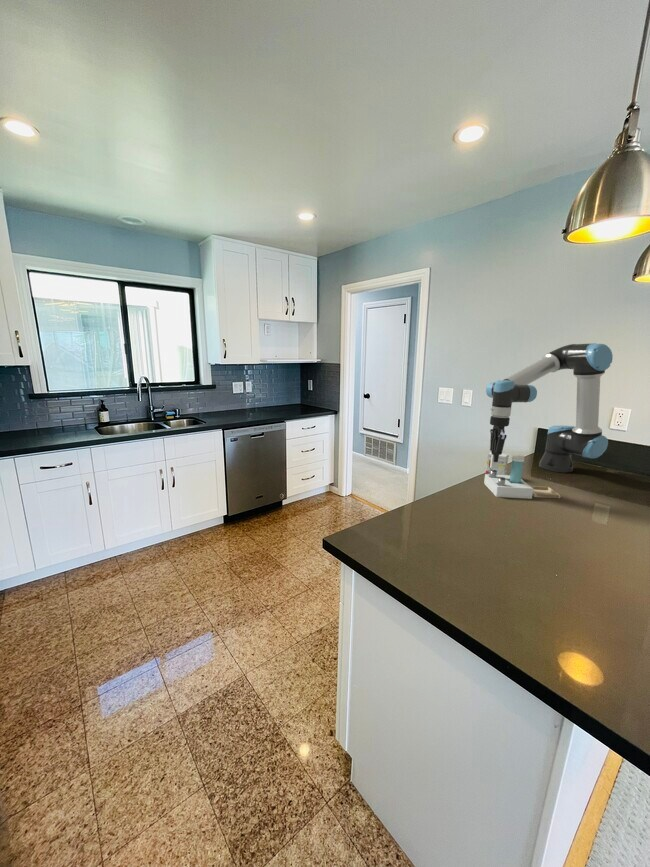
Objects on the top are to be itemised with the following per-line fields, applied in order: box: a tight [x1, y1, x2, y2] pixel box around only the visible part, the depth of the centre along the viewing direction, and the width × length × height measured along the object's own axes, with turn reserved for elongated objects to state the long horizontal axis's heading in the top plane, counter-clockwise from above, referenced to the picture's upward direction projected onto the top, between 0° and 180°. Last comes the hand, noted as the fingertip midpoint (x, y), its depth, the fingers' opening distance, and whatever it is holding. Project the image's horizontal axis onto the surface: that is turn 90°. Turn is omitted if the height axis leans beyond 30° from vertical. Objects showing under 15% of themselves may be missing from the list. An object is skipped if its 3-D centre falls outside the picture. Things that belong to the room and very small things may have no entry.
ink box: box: [485, 451, 509, 475], centre depth 171 cm, size 9×5×12 cm, turn 50°
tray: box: [530, 485, 561, 499], centre depth 151 cm, size 10×10×2 cm
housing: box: [483, 473, 533, 500], centre depth 153 cm, size 16×14×5 cm
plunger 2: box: [498, 477, 505, 486], centre depth 148 cm, size 3×3×5 cm
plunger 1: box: [490, 470, 497, 478], centre depth 158 cm, size 3×3×5 cm
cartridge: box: [509, 455, 526, 484], centre depth 151 cm, size 5×5×16 cm
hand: (493, 468), depth 157 cm, fingers closed
